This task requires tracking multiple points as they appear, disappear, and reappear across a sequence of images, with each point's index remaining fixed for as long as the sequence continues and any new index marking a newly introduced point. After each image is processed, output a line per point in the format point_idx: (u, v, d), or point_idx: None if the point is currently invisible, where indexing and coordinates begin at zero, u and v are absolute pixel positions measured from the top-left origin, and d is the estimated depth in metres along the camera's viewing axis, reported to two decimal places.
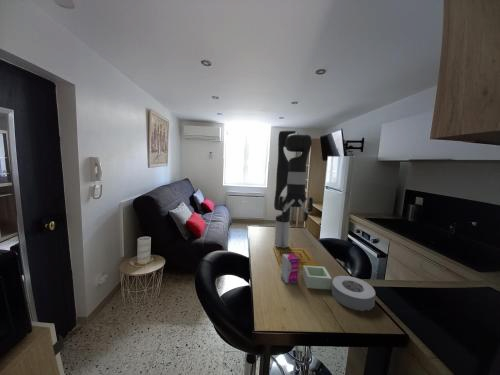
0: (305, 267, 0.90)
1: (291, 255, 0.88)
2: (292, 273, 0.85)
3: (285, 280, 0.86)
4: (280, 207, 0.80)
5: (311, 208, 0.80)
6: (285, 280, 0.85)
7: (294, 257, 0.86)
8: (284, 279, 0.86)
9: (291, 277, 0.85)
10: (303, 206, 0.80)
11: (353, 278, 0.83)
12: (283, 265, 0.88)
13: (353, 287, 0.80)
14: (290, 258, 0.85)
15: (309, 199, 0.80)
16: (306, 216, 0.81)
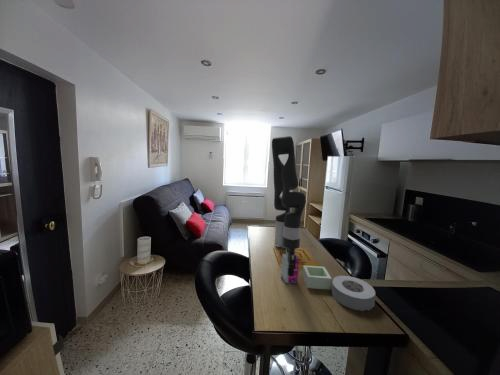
0: (305, 267, 0.90)
1: None
2: None
3: (285, 280, 0.86)
4: None
5: None
6: (285, 280, 0.85)
7: None
8: (284, 279, 0.86)
9: (291, 277, 0.85)
10: None
11: (353, 278, 0.83)
12: (283, 265, 0.88)
13: (353, 287, 0.80)
14: None
15: None
16: None
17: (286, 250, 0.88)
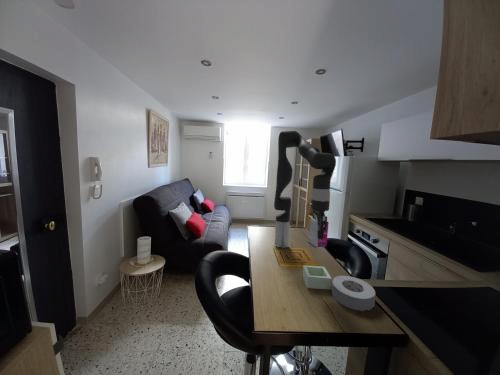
0: (305, 267, 0.90)
1: None
2: None
3: (314, 244, 0.83)
4: None
5: None
6: (315, 243, 0.83)
7: None
8: (313, 243, 0.84)
9: (320, 241, 0.83)
10: None
11: (353, 278, 0.83)
12: (311, 229, 0.85)
13: (353, 287, 0.80)
14: None
15: None
16: None
17: (314, 214, 0.85)
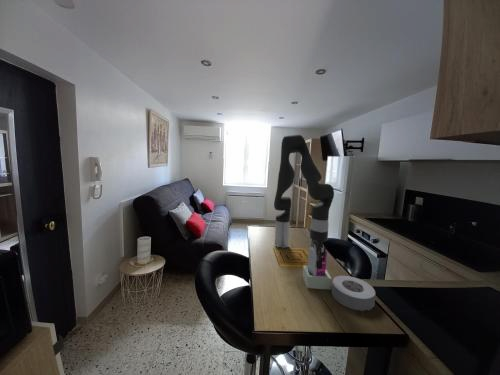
0: (305, 267, 0.90)
1: None
2: None
3: (313, 273, 0.84)
4: None
5: None
6: (313, 273, 0.84)
7: None
8: (311, 272, 0.85)
9: (319, 270, 0.84)
10: None
11: (353, 278, 0.83)
12: (310, 258, 0.86)
13: (353, 287, 0.80)
14: (318, 251, 0.84)
15: None
16: None
17: (313, 243, 0.87)
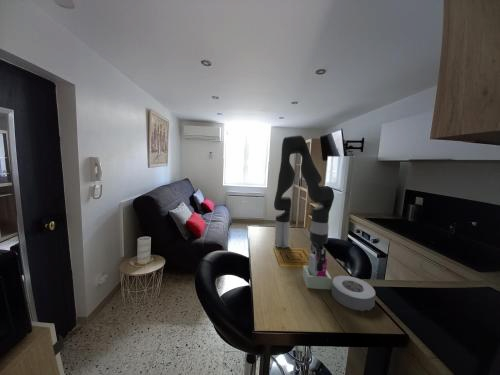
0: (305, 267, 0.90)
1: None
2: (320, 273, 0.84)
3: None
4: None
5: None
6: None
7: None
8: None
9: None
10: None
11: (353, 278, 0.83)
12: (310, 265, 0.87)
13: (353, 287, 0.80)
14: None
15: None
16: None
17: (313, 245, 0.87)
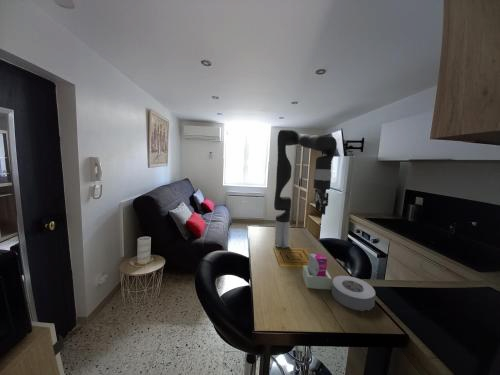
0: (305, 267, 0.90)
1: (318, 255, 0.87)
2: (320, 273, 0.84)
3: None
4: None
5: None
6: None
7: (322, 257, 0.85)
8: None
9: None
10: None
11: (353, 278, 0.83)
12: (310, 265, 0.87)
13: (353, 287, 0.80)
14: (318, 258, 0.84)
15: None
16: None
17: (317, 193, 0.93)
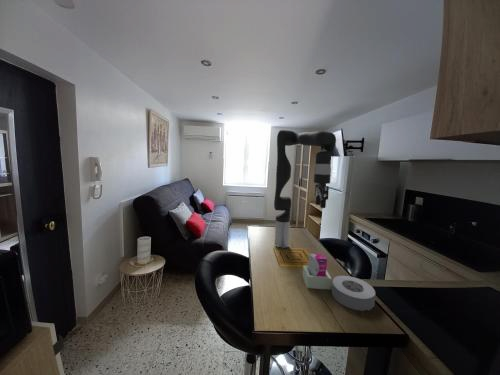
0: (305, 267, 0.90)
1: (318, 255, 0.87)
2: (320, 273, 0.84)
3: None
4: None
5: None
6: None
7: (322, 257, 0.85)
8: None
9: None
10: None
11: (353, 278, 0.83)
12: (310, 265, 0.87)
13: (353, 287, 0.80)
14: (318, 258, 0.84)
15: None
16: None
17: (317, 188, 0.95)
